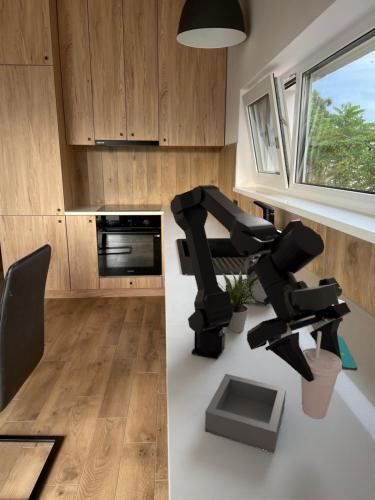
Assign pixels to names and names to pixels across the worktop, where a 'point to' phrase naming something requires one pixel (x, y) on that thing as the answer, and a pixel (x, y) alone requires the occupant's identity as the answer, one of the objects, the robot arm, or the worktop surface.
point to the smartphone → (346, 355)
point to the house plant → (239, 302)
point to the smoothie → (319, 380)
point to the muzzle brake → (259, 294)
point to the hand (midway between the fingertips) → (326, 374)
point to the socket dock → (246, 412)
